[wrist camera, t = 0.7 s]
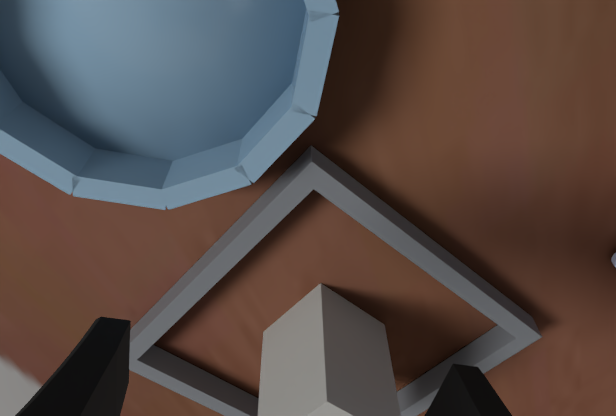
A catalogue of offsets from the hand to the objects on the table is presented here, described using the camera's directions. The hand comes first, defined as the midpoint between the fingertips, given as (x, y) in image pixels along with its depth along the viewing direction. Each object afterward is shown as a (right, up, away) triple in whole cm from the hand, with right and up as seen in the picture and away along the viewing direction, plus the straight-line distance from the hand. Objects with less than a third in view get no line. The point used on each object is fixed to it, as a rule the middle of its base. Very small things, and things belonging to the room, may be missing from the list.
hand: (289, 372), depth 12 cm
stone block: (+1, -2, +13) cm, 13 cm away
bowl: (-5, +10, +5) cm, 12 cm away
